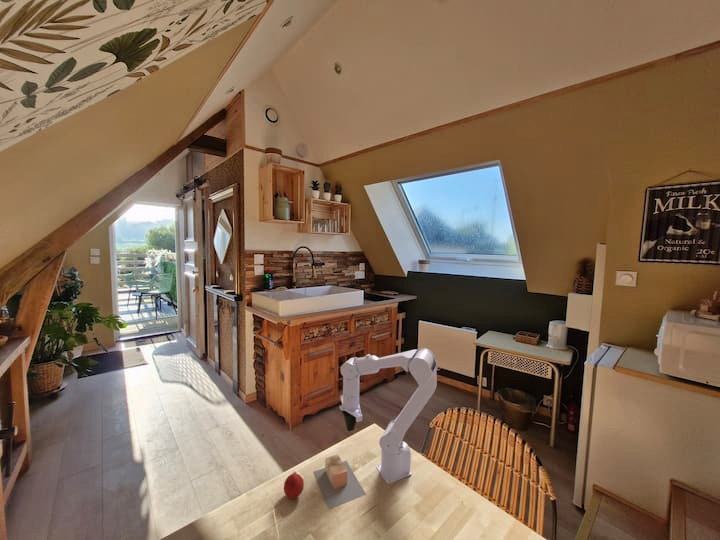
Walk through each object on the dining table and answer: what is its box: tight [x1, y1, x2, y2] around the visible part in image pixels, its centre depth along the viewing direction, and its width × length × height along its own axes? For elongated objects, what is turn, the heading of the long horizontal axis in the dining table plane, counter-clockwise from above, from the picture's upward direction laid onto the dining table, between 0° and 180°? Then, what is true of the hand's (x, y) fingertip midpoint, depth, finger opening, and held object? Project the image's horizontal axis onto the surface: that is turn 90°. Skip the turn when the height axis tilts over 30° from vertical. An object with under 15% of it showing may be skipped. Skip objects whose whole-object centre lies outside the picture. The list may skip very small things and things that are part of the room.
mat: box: [313, 460, 367, 510], centre depth 92 cm, size 12×15×1 cm
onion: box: [283, 471, 305, 500], centre depth 87 cm, size 6×6×8 cm
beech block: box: [324, 453, 347, 489], centre depth 94 cm, size 4×4×8 cm
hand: (350, 429), depth 103 cm, fingers closed
